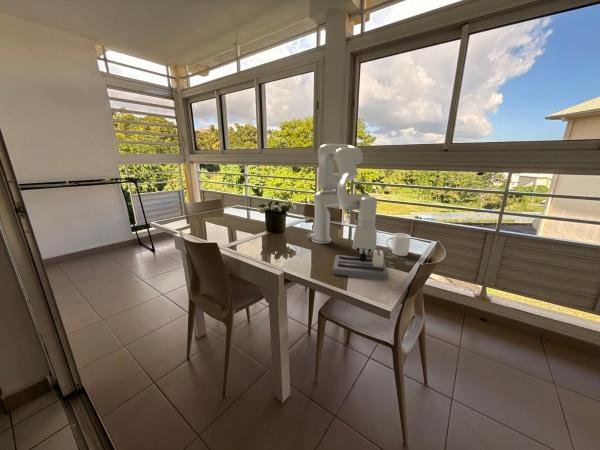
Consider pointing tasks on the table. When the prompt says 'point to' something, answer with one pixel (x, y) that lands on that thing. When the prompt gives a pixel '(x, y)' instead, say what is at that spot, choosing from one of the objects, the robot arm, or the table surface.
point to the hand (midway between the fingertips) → (362, 260)
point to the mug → (400, 244)
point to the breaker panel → (358, 267)
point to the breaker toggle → (378, 258)
